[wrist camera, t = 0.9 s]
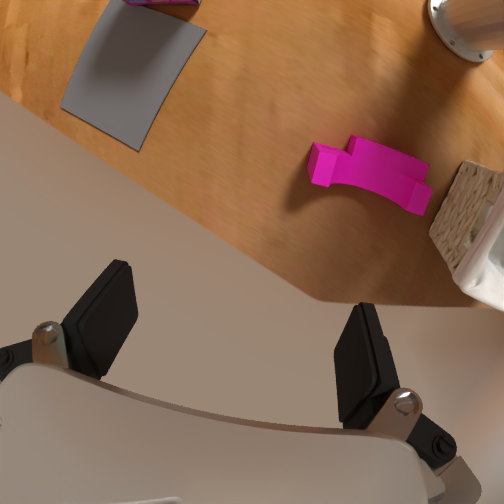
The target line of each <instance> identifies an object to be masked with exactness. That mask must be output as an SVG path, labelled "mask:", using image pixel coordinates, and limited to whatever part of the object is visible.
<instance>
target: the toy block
mask: <svg viewBox="0 0 504 504" xmlns="http://www.w3.org/2000/svg"><path fill="white" fill-rule="evenodd" d="M428 167H429V164H427V163H425V162H423V161H422V160H420V159H418V158H416V157H413V156H411V155H408V154H406V153H403V152H401V151H398V150H396V149H393V148H390V147H388V146H385V145H382V144H379V143H376V142H374V141H371V140H368V139H365V138H362V137H359V136H356V135H352V134H351V137H350V141H349V145H348V148H347V151H344V150H340V149H337V148H333V147H330V146H326V145H323V144H319V143H315V142H313V146H312V150H311V154H310V158H309V162H308V166H307V170H308V173H309V177H310V180H311V183H314V184H318V185H322V186H326V187H329V185H330V184H333V183H343V184H349V185H354V186H358V187H361V188H364V189H367V190H370V191H373V192H375V193H378V194H380V195H382V196H384V197H386V198H388V199H390V200H392V201H393V202H395V203H397V204H398V205H400V206H401V207H402V208H404V209H405V210H406V211H409V212H412V213H415V214H418V215H420V216H423V215H424V212H425V210H426V207H427V205H428V202H429V200H430V197H431V194H432V192H433V189H432V188H431V187H430V186H428V185H427V184H425V183H424V179H425V176H426V173H427V170H428Z"/></svg>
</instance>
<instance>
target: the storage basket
mask: <svg viewBox="0 0 504 504" xmlns="http://www.w3.org/2000/svg"><path fill="white" fill-rule="evenodd" d="M429 236H430V237H431V239H432V241H433V243H434V244H435V246H436V248H437V249H438V250H439V252H440V253H441V256H442V257H443V258H444V260H445V261H446V262H447V266H448V268H449V270H450V271H451V274H452V279H453V280H454V282H455V283H456V284H457V285H458V286H459V287H460V289H461V291H462V292H464V293H465V294H467V295H469V296H471V297H473V298H475V299H477V300H479V301H481V302H483V303H485V304H487V305H489V306H491V307H493V308H496V309H498V310H501V311H503V312H504V173H501V172H499V171H494V170H492V169H491V168H489V167H484V166H483V165H481V164H477V163H474V162H472V161H470V159H468V160H465V161H464V162H463V163H462V165H461V167H460V169H459V172H458V174H457V175H456V177H455V179H454V182H453V184H452V185H451V187H450V190H449V192H448V196H447V197H446V198H445V199H444V201H443V203H442V205H441V209H440V211H439V212H438V213H437V215H436V217H435V220H434V222H433V223H432V225H431V227H430V229H429Z"/></svg>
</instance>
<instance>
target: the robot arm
mask: <svg viewBox="0 0 504 504" xmlns="http://www.w3.org/2000/svg"><path fill="white" fill-rule="evenodd" d="M428 14H429V17H430V21H431V23H432V25H433V27H434V29H435V31H436V33H437V34H438V36H439V37H440V39H441V40H442V41H443V43H444V44H445V45H446V46H447V47H448V48H449V49H450V50H451V51H453V52H454V53H455V54H456V55H458V56H459V57H461V58H463V59H465V60H468V61H472V62H483V61H485V60H488V59H489V58H490V57H491V56H492V54H493V53H494V50H504V0H428ZM137 318H138V308H137V302H136V296H135V289H134V283H133V276H132V269H131V266H129V265H128V263H127V262H126V261H121V260H117V259H115V260H113V261H112V262H111V263H110V264H109V266H108V267H107V268H106V269H105V270H104V271H103V272H102V273H101V275H100V276H99V277H98V278H97V279H96V280H95V282H94V283H93V284H92V285H91V286H90V287H89V289H88V290H87V291H86V292H85V293H84V294H83V296H82V297H81V298H80V299H79V301H78V302H77V303H76V304H75V305H74V307H73V308H72V309H71V310H70V312H69V313H68V314H67V315H66V317H65V318H64V319H63V322H62V323H61V324H59V323H57V322H54V321H47V322H44V323H41V324H40V325H39V326H37V327H36V328H35V330H34V332H33V333H32V339H30V340H27V341H23V342H20V343H16V344H13V345H10V346H6V347H3V348H0V504H475V503H476V502H477V501H478V499H479V498H480V496H481V492H482V491H481V485H480V483H479V481H478V480H477V478H476V477H475V475H474V474H473V473H472V471H471V470H470V468H469V467H468V466H467V464H466V463H465V461H464V460H463V459H462V457H461V456H459V457H457V456H456V451H457V446H456V442H455V440H454V439H453V437H452V436H451V435H450V434H449V433H447V432H446V431H445V430H443V429H442V428H441V427H439V426H438V425H437V424H435V423H434V422H433V421H431V420H430V419H429V418H427V417H426V416H425V415H424V414H422V409H423V404H422V401H421V398H420V397H419V395H418V394H417V393H415V392H414V391H413V390H411V389H408V388H400V385H399V380H398V376H397V372H396V368H395V364H394V361H393V357H392V353H391V350H390V346H389V343H388V340H387V338H386V337H385V336H384V335H383V332H382V328H381V325H380V322H379V319H378V315H377V312H376V309H375V306H374V304H371V303H364V302H360V303H359V304H358V305H355V306H354V307H353V310H352V312H351V314H350V317H349V319H348V321H347V323H346V326H345V328H344V330H343V332H342V334H341V336H340V339H339V341H338V343H337V345H336V347H335V350H334V362H335V374H336V386H337V397H338V398H337V399H338V412H339V421H340V422H343V429H339V428H320V427H307V426H296V425H285V424H276V423H268V422H260V421H254V420H247V419H241V418H235V417H229V416H224V415H219V414H214V413H209V412H204V411H200V410H195V409H191V408H187V407H183V406H179V405H175V404H171V403H168V402H164V401H160V400H157V399H154V398H150V397H147V396H143V395H140V394H137V393H134V392H131V391H128V390H124V389H122V388H119V387H116V386H113V385H111V384H108V383H105V382H102V381H100V379H101V377H102V376H105V375H106V374H107V372H108V370H109V368H110V367H111V365H112V363H113V361H114V359H115V357H116V356H117V354H118V352H119V350H120V349H121V347H122V345H123V343H124V341H125V340H126V338H127V336H128V334H129V333H130V331H131V329H132V328H133V326H134V324H135V322H136V321H137Z"/></svg>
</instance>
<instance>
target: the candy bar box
mask: <svg viewBox="0 0 504 504" xmlns="http://www.w3.org/2000/svg"><path fill="white" fill-rule="evenodd" d="M123 1H124V2H126V3H127V4H129V5H130V6H139V5H155V4H194V5H199V4H200V2H201V0H123Z"/></svg>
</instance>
